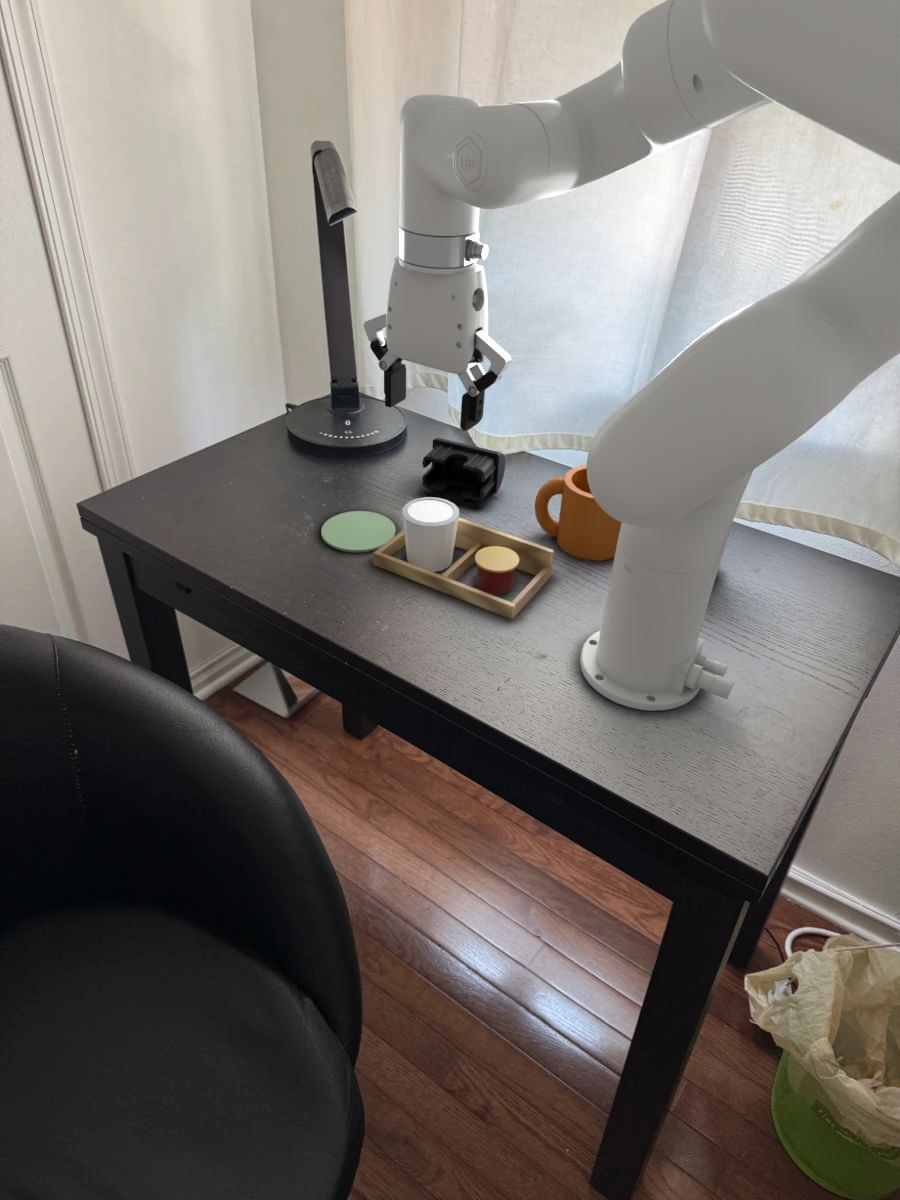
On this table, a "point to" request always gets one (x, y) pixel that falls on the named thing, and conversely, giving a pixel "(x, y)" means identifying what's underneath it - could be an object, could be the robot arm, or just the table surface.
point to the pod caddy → (472, 540)
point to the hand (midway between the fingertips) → (432, 414)
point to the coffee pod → (496, 569)
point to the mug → (578, 517)
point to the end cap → (463, 473)
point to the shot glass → (430, 532)
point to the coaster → (358, 531)
